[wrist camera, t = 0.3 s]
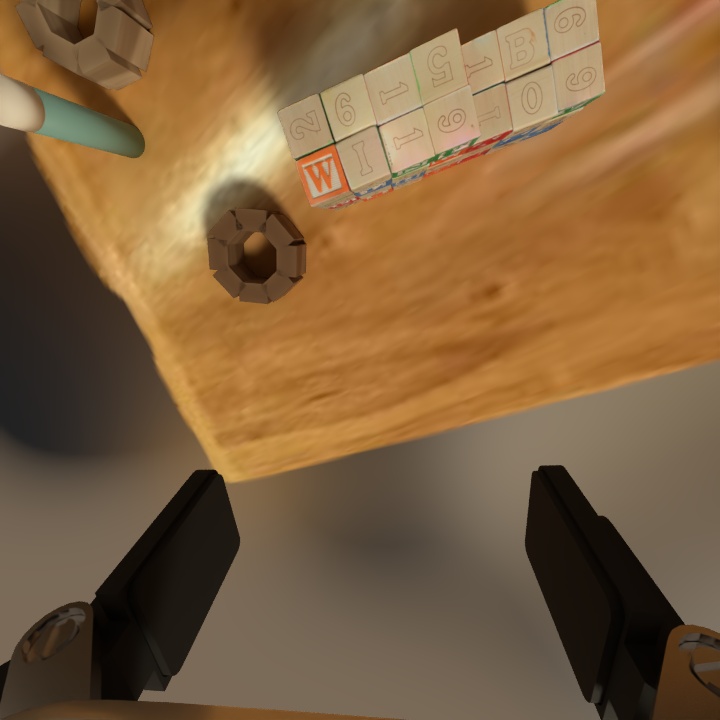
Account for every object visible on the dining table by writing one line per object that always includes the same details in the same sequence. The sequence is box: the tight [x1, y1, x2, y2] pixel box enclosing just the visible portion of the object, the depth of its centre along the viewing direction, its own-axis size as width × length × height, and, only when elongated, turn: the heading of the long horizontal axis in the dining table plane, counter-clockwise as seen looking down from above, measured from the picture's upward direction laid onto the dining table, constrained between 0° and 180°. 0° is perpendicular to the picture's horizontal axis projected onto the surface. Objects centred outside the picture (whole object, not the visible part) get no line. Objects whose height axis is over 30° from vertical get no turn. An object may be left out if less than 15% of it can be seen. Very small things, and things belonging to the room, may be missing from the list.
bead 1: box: [15, 0, 154, 90], centre depth 31 cm, size 9×9×4 cm
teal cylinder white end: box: [0, 74, 145, 158], centre depth 30 cm, size 3×3×13 cm
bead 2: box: [207, 208, 306, 304], centre depth 37 cm, size 9×9×4 cm
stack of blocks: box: [278, 0, 605, 210], centre depth 28 cm, size 21×6×12 cm, turn 109°
